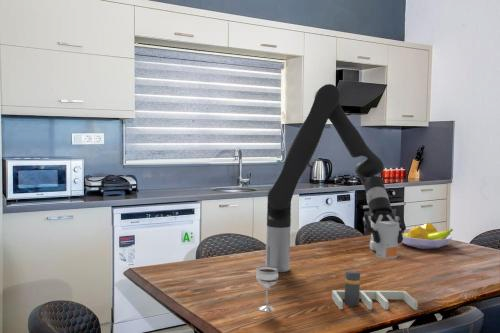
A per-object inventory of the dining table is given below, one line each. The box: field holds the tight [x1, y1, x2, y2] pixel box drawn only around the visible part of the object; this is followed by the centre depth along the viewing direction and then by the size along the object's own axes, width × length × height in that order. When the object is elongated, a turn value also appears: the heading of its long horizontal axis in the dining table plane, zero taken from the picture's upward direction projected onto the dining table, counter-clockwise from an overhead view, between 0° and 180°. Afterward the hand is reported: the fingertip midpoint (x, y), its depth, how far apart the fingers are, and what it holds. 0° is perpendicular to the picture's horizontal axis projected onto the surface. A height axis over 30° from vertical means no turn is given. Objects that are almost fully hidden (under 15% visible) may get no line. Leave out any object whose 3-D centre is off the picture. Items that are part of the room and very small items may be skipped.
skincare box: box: [375, 221, 399, 260], centre depth 157 cm, size 6×4×12 cm
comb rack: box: [331, 289, 418, 311], centre depth 145 cm, size 24×10×2 cm, turn 93°
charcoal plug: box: [343, 270, 361, 307], centre depth 144 cm, size 5×5×10 cm
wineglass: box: [255, 265, 280, 313], centre depth 139 cm, size 7×7×12 cm
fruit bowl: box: [401, 222, 454, 250], centre depth 228 cm, size 28×27×11 cm
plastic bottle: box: [369, 220, 378, 252], centre depth 216 cm, size 6×7×20 cm
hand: (389, 242), depth 155 cm, fingers closed on skincare box, 7 cm apart
